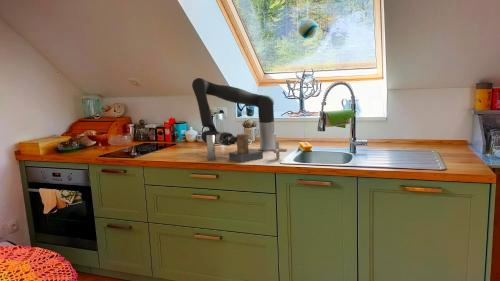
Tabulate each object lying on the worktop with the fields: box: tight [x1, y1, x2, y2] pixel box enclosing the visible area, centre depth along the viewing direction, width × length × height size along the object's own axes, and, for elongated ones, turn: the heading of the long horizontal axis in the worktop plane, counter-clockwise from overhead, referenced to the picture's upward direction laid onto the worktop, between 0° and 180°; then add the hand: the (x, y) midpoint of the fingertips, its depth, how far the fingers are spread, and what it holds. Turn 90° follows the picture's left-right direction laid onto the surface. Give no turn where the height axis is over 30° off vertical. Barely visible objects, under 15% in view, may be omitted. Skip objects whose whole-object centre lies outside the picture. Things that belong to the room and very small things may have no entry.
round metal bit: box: [206, 135, 217, 162], centre depth 213 cm, size 4×4×14 cm
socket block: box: [228, 148, 264, 163], centre depth 213 cm, size 15×11×4 cm
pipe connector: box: [268, 140, 288, 160], centre depth 209 cm, size 10×10×10 cm
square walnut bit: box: [236, 133, 249, 154], centre depth 211 cm, size 4×4×14 cm
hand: (240, 141), depth 212 cm, fingers open, 8 cm apart
